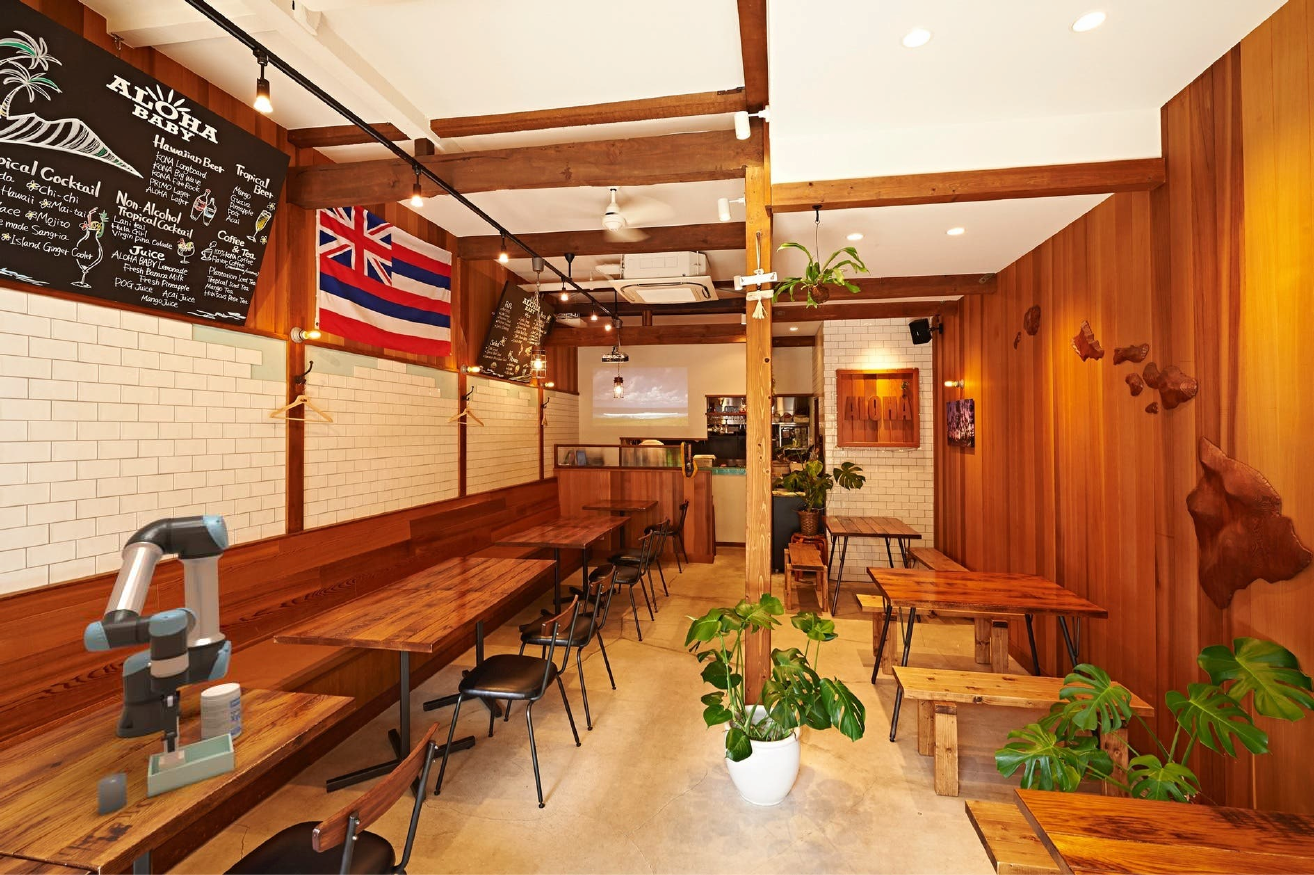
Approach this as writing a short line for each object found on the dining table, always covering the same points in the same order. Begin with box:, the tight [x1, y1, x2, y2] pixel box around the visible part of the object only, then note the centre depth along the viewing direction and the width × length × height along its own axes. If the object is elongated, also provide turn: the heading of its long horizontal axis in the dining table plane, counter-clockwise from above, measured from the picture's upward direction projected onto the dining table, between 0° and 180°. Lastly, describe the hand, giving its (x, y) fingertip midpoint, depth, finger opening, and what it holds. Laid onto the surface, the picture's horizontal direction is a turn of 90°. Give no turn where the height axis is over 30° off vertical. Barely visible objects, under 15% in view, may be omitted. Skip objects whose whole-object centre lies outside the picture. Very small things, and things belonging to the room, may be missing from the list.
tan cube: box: [159, 750, 185, 773], centre depth 149 cm, size 5×5×5 cm
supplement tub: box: [200, 682, 243, 741], centre depth 169 cm, size 10×10×15 cm
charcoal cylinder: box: [97, 772, 128, 816], centre depth 138 cm, size 5×5×7 cm
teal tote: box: [147, 733, 235, 798], centre depth 152 cm, size 13×17×5 cm
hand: (172, 753), depth 149 cm, fingers open, 13 cm apart
